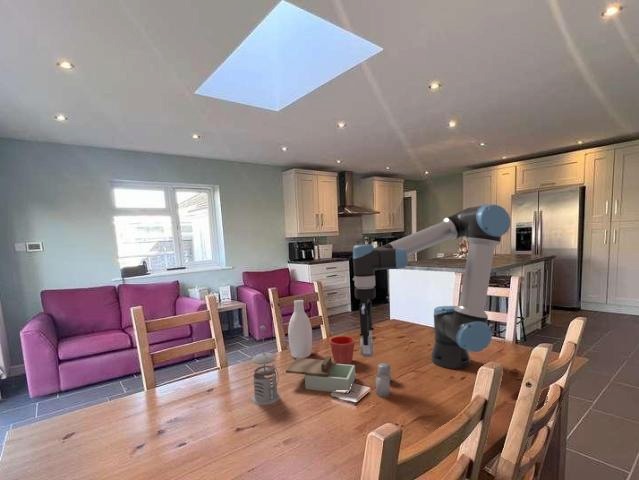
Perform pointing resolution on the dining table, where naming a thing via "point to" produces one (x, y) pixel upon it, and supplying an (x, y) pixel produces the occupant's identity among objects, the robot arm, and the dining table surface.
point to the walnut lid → (312, 366)
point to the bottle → (300, 332)
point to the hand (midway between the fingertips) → (367, 350)
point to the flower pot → (342, 349)
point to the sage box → (332, 379)
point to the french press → (265, 379)
